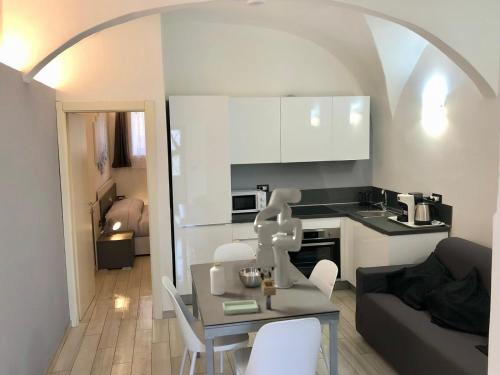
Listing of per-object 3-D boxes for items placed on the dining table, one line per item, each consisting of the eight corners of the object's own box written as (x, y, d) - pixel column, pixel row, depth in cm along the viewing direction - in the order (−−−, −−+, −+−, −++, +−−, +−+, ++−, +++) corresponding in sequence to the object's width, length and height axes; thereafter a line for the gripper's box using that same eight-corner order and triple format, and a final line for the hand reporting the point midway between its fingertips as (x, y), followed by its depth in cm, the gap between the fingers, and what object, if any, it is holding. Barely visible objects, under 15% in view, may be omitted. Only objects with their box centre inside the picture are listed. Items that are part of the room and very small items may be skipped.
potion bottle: (211, 291, 271) (210, 262, 269) (225, 290, 271) (224, 261, 269) (211, 296, 262) (210, 266, 260) (225, 295, 263) (224, 265, 261)
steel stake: (270, 307, 242) (270, 293, 241) (271, 309, 239) (271, 295, 239) (265, 308, 242) (265, 293, 241) (266, 310, 239) (266, 295, 238)
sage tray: (255, 304, 248) (255, 299, 248) (258, 312, 236) (258, 307, 236) (222, 306, 246) (222, 302, 246) (224, 314, 234) (224, 310, 234)
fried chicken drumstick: (275, 295, 237) (275, 287, 235) (263, 296, 237) (263, 288, 235) (271, 281, 248) (271, 273, 246) (259, 281, 248) (260, 274, 245)
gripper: (278, 243, 249) (279, 276, 251) (249, 245, 247) (250, 278, 249) (281, 247, 241) (282, 280, 244) (251, 249, 239) (252, 282, 242)
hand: (266, 278), depth 246 cm, fingers closed on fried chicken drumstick, 3 cm apart
